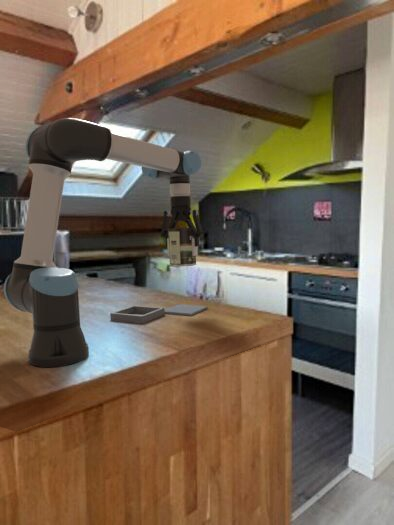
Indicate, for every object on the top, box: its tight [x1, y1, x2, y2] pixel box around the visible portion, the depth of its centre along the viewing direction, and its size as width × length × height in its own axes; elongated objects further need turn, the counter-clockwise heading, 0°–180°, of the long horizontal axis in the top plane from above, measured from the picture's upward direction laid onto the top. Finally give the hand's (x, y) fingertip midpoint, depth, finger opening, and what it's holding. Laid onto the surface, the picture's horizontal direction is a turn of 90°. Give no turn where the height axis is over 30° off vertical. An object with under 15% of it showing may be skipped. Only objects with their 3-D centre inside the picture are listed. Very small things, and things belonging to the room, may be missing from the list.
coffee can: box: [168, 227, 197, 268], centre depth 160 cm, size 10×10×14 cm
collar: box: [109, 305, 165, 324], centre depth 155 cm, size 14×14×2 cm
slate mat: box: [164, 303, 208, 317], centre depth 163 cm, size 13×13×1 cm
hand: (182, 255), depth 161 cm, fingers closed on coffee can, 10 cm apart
